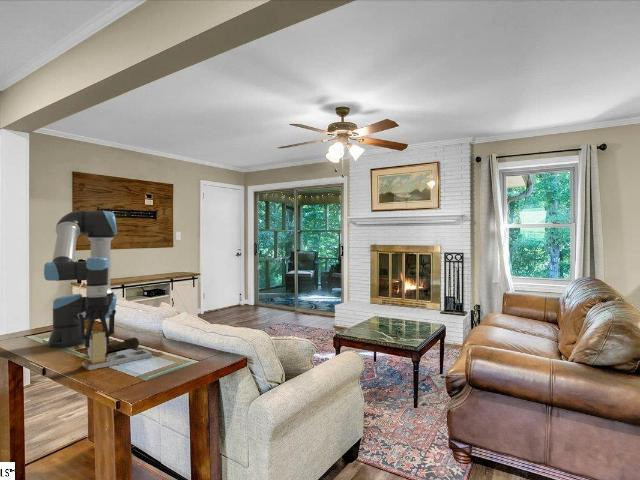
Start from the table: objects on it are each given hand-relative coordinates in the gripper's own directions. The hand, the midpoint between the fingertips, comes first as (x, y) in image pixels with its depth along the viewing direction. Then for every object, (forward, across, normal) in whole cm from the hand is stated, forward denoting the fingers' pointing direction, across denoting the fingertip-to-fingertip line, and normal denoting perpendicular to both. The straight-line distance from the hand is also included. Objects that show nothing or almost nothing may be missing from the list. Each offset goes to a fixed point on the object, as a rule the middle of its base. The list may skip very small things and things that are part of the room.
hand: (97, 354), depth 149 cm
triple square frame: (+5, +8, 0) cm, 9 cm away
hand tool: (+5, +13, +17) cm, 22 cm away
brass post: (+3, 0, 0) cm, 3 cm away
